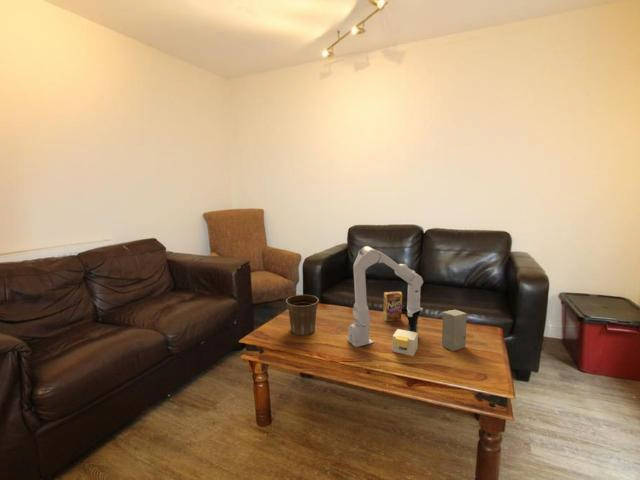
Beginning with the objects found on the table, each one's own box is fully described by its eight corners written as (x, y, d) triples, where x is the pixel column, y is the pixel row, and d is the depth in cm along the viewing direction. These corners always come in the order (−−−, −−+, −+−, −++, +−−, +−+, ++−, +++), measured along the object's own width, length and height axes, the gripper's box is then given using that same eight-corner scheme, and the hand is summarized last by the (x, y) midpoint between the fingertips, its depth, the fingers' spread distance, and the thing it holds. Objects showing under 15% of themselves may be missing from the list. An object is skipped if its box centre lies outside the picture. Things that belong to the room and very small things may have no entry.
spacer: (406, 348, 131) (407, 341, 131) (394, 345, 133) (395, 338, 133) (408, 344, 134) (409, 337, 134) (397, 341, 136) (397, 335, 136)
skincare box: (453, 352, 137) (454, 316, 134) (440, 345, 143) (441, 311, 140) (466, 347, 140) (468, 313, 138) (453, 340, 147) (454, 307, 144)
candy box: (385, 321, 169) (386, 294, 167) (383, 318, 173) (383, 291, 171) (401, 320, 170) (402, 293, 168) (398, 317, 174) (399, 290, 172)
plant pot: (322, 335, 154) (322, 303, 152) (289, 339, 151) (288, 307, 148) (315, 322, 170) (314, 293, 168) (285, 325, 166) (284, 296, 164)
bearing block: (413, 356, 134) (413, 340, 133) (392, 351, 138) (392, 336, 137) (417, 347, 141) (418, 332, 140) (397, 343, 145) (397, 328, 144)
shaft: (406, 352, 134) (407, 340, 133) (397, 350, 136) (397, 338, 135) (417, 332, 152) (417, 321, 151) (409, 331, 154) (409, 320, 153)
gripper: (419, 304, 141) (418, 333, 143) (425, 295, 154) (424, 321, 156) (403, 302, 144) (402, 330, 146) (410, 293, 157) (410, 319, 159)
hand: (413, 325), depth 151 cm, fingers closed on shaft, 3 cm apart
